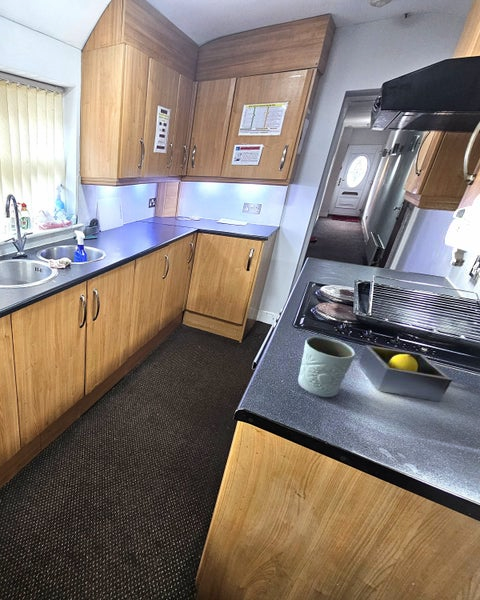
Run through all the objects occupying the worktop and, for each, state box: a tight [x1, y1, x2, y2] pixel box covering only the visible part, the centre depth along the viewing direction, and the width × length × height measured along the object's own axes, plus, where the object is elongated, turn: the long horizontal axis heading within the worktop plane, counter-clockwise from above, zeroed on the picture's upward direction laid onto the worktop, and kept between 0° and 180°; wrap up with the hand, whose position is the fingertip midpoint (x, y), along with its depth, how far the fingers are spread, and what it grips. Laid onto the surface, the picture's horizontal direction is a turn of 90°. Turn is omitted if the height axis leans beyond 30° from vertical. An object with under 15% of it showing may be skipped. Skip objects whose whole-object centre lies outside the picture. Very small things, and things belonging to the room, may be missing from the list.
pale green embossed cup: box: [297, 336, 356, 398], centre depth 83 cm, size 10×10×12 cm
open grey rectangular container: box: [357, 344, 453, 403], centre depth 86 cm, size 13×13×7 cm
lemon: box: [388, 354, 418, 372], centre depth 86 cm, size 6×6×8 cm
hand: (468, 270), depth 84 cm, fingers open, 8 cm apart
